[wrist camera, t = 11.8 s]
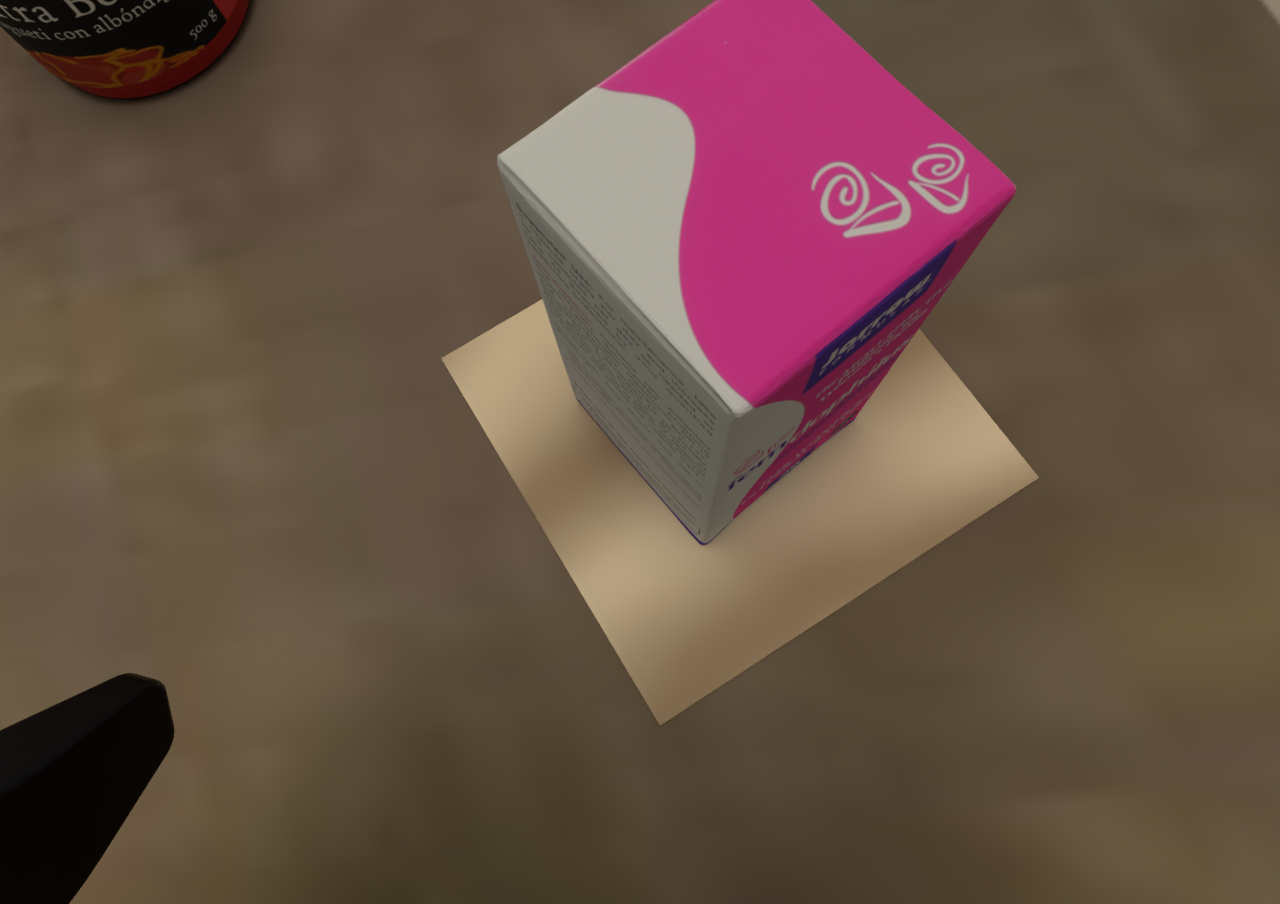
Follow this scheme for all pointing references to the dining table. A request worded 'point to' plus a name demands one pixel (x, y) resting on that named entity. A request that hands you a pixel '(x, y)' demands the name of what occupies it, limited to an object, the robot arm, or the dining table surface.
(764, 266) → the supplement box
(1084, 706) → the dining table surface
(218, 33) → the canned food
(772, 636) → the oak board
